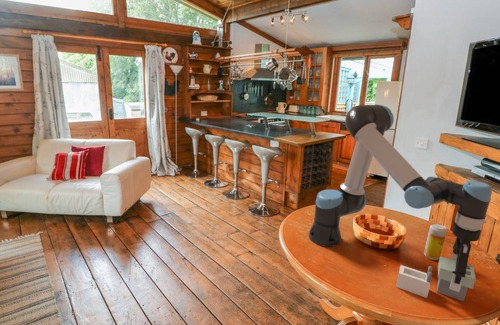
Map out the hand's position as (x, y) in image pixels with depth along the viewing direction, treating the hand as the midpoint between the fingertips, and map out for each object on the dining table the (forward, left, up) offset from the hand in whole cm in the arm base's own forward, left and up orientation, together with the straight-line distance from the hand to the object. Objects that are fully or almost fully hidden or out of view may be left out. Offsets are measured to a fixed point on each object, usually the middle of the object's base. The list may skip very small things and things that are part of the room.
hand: (453, 279), depth 103 cm
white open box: (-12, -5, -6) cm, 14 cm away
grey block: (0, 0, +1) cm, 1 cm away
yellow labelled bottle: (-6, +23, -6) cm, 25 cm away
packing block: (0, 0, -6) cm, 6 cm away
